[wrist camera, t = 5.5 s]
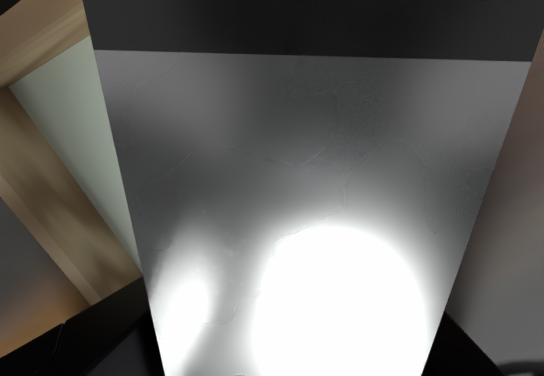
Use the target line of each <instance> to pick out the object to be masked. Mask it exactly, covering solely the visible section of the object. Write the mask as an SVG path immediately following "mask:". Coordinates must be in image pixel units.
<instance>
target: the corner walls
mask: <svg viewBox="0 0 544 376" xmlns="http://www.w3.org/2000/svg"><path fill="white" fill-rule="evenodd" d="M88 36H90V32H89V28H88V23H87V19H86V14H85V10H84V5H83V1H82V0H21V1H20V2H18V3H17V4H16V5H14V6H13V7H12V8H10V9H9V10H8V11H6V12H5V13H4V14H3V15H1V16H0V197H1V198H2V199H3V200H4V201H5V203H6V204H7V205H8V206H9V207H10V209H11V210H12V211H13V212H14V213H15V215H16V216H17V217H18V218H19V219H20V221H21V222H22V223H23V224H24V225H25V227H26V228H27V229H28V230H29V231H30V233H31V234H32V235H33V236H34V237H35V239H36V240H37V241H38V242H39V243H40V245H41V246H42V247H43V248H44V249H45V251H46V252H47V253H48V254H49V255H50V257H51V258H52V259H53V260H54V261H55V263H56V264H57V265H58V266H59V267H60V269H61V270H62V271H63V272H64V273H65V275H66V276H67V277H68V278H69V279H70V281H71V282H72V283H73V284H74V285H75V287H76V288H77V289H78V290H79V291H80V293H81V294H82V295H83V296H84V297H85V299H86V300H87V301H88V302H89V304H90V305H91V306H92V305H93V304H95V303H97V302H99V301H100V300H102V299H104V298H105V297H107V296H109V295H110V294H112V293H114V292H115V291H117V290H119V289H121V288H122V287H124V286H126V285H127V284H129V283H131V282H132V281H134V280H136V279H138V278H139V277H140V276H141V275H142V272H141V271H140V270H139V268H138V267H137V265H136V264H135V263H134V261H133V260H132V258H131V257H130V256H129V254H128V253H127V251H126V250H125V249H124V247H123V246H122V244H121V243H120V242H119V240H118V239H117V237H116V236H115V235H114V233H113V232H112V231H111V229H110V228H109V226H108V225H107V224H106V222H105V221H104V219H103V218H102V217H101V215H100V214H99V212H98V211H97V210H96V208H95V207H94V205H93V204H92V203H91V201H90V200H89V199H88V197H87V196H86V194H85V193H84V192H83V190H82V189H81V187H80V186H79V185H78V183H77V182H76V180H75V179H74V178H73V176H72V175H71V173H70V172H69V171H68V169H67V168H66V167H65V165H64V164H63V162H62V161H61V160H60V158H59V157H58V155H57V154H56V153H55V151H54V150H53V148H52V147H51V146H50V144H49V143H48V141H47V140H46V139H45V137H44V136H43V135H42V133H41V132H40V130H39V129H38V128H37V126H36V125H35V123H34V122H33V121H32V119H31V118H30V116H29V115H28V114H27V112H26V111H25V109H24V108H23V107H22V105H21V104H20V102H19V101H18V100H17V98H16V97H15V96H14V94H13V93H12V91H11V90H10V89H9V86H10V85H12V84H14V83H15V82H17V81H18V80H20V79H21V78H23V77H25V76H26V75H28V74H29V73H31V72H33V71H34V70H36V69H37V68H39V67H40V66H42V65H44V64H45V63H47V62H48V61H50V60H52V59H53V58H55V57H56V56H58V55H59V54H61V53H63V52H64V51H66V50H67V49H69V48H71V47H72V46H74V45H75V44H77V43H78V42H80V41H82V40H83V39H85V38H86V37H88Z"/></svg>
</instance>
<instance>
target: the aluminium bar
mask: <svg viewBox="0 0 544 376" xmlns="http://www.w3.org/2000/svg"><path fill="white" fill-rule="evenodd" d="M82 1H83V5H84V10H85V14H86V19H87V23H88V28H89V32H90V37H91V41H92V46H93V50H94V55H95V60H96V64H97V69H98V73H99V78H100V82H101V87H102V91H103V96H104V100H105V105H106V109H107V114H108V119H109V123H110V128H111V132H112V137H113V141H114V146H115V150H116V155H117V159H118V164H119V169H120V173H121V178H122V182H123V187H124V191H125V196H126V200H127V205H128V209H129V214H130V218H131V223H132V228H133V232H134V237H135V241H136V246H137V250H138V255H139V259H140V264H141V268H142V273H143V277H144V282H145V287H146V291H147V296H148V300H149V305H150V309H151V314H152V318H153V323H154V327H155V332H156V336H157V341H158V346H159V350H160V355H161V359H162V364H163V368H164V373H165V376H421V375H422V372H423V369H424V366H425V363H426V360H427V358H428V355H429V352H430V349H431V346H432V343H433V341H434V338H435V335H436V332H437V329H438V326H439V323H440V321H441V318H442V315H443V312H444V309H445V306H446V304H447V301H448V298H449V295H450V292H451V289H452V287H453V284H454V281H455V278H456V275H457V272H458V270H459V267H460V264H461V261H462V258H463V255H464V252H465V250H466V247H467V244H468V241H469V238H470V235H471V233H472V230H473V227H474V224H475V221H476V218H477V216H478V213H479V210H480V207H481V204H482V201H483V199H484V196H485V193H486V190H487V187H488V184H489V181H490V179H491V176H492V173H493V170H494V167H495V164H496V162H497V159H498V156H499V153H500V150H501V147H502V145H503V142H504V139H505V136H506V133H507V130H508V127H509V125H510V122H511V119H512V116H513V113H514V110H515V108H516V105H517V102H518V99H519V96H520V93H521V91H522V88H523V85H524V82H525V79H526V76H527V74H528V71H529V68H530V65H531V62H532V59H533V56H534V54H535V51H536V48H537V45H538V42H539V39H540V37H541V34H542V31H543V28H544V0H82Z"/></svg>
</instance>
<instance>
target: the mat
mask: <svg viewBox="0 0 544 376" xmlns="http://www.w3.org/2000/svg"><path fill="white" fill-rule="evenodd" d="M9 89H10V90H11V91H12V93H13V94H14V96H15V97H16V98H17V100H18V101H19V102H20V104H21V105H22V107H23V108H24V109H25V111H26V112H27V114H28V115H29V116H30V118H31V119H32V121H33V122H34V123H35V125H36V126H37V128H38V129H39V130H40V132H41V133H42V135H43V136H44V137H45V139H46V140H47V141H48V143H49V144H50V146H51V147H52V148H53V150H54V151H55V153H56V154H57V155H58V157H59V158H60V160H61V161H62V162H63V164H64V165H65V167H66V168H67V169H68V171H69V172H70V173H71V175H72V176H73V178H74V179H75V180H76V182H77V183H78V185H79V186H80V187H81V189H82V190H83V192H84V193H85V194H86V196H87V197H88V199H89V200H90V201H91V203H92V204H93V205H94V207H95V208H96V210H97V211H98V212H99V214H100V215H101V217H102V218H103V219H104V221H105V222H106V224H107V225H108V226H109V228H110V229H111V231H112V232H113V233H114V235H115V236H116V237H117V239H118V240H119V242H120V243H121V244H122V246H123V247H124V249H125V250H126V251H127V253H128V254H129V256H130V257H131V258H132V260H133V261H134V263H135V264H136V265H137V267H138V268H139V270H140V271H141V272H142V268H141V264H140V259H139V255H138V250H137V246H136V241H135V237H134V232H133V228H132V223H131V218H130V214H129V209H128V205H127V200H126V196H125V191H124V187H123V182H122V178H121V173H120V169H119V164H118V159H117V155H116V150H115V146H114V141H113V137H112V132H111V128H110V123H109V119H108V114H107V109H106V105H105V100H104V96H103V91H102V87H101V82H100V78H99V73H98V69H97V64H96V60H95V55H94V50H93V46H92V41H91V37H90V36H88V37H86V38H85V39H83V40H82V41H80V42H78V43H77V44H75V45H74V46H72V47H71V48H69V49H67V50H66V51H64V52H63V53H61V54H59V55H58V56H56V57H55V58H53V59H52V60H50V61H48V62H47V63H45V64H44V65H42V66H40V67H39V68H37V69H36V70H34V71H33V72H31V73H29V74H28V75H26V76H25V77H23V78H21V79H20V80H18V81H17V82H15V83H14V84H12V85H10V86H9ZM142 274H143V273H142Z"/></svg>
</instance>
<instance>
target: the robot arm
mask: <svg viewBox="0 0 544 376" xmlns="http://www.w3.org/2000/svg"><path fill="white" fill-rule="evenodd" d="M0 376H165V373H164V368H163V364H162V359H161V355H160V350H159V346H158V341H157V336H156V332H155V327H154V323H153V318H152V314H151V309H150V305H149V300H148V296H147V291H146V287H145V282H144V277H143V276H141V277H139V278H138V279H136V280H134V281H132V282H131V283H129V284H127V285H126V286H124V287H122V288H121V289H119V290H117V291H115V292H114V293H112V294H110V295H109V296H107V297H105V298H104V299H102V300H100V301H99V302H97V303H95V304H93V305H92V306H90V307H88V308H87V309H85V310H83V311H82V312H80V313H78V314H76V315H75V316H73V317H71V318H70V319H68V320H66V322H65V324H64V323H61V324H59V325H58V326H56V327H54V328H52V329H51V330H49V331H47V332H46V333H44V334H42V335H41V336H39V337H37V338H35V339H33V340H32V341H30V342H28V343H26V344H25V345H23V346H21V347H19V348H18V349H16V350H14V351H12V352H11V353H9V354H7V355H5V356H3V357H1V358H0ZM421 376H506V375H505V374H504V373H503V372H502V371H501V370H500V369H499V368H498V367H497V366H496V365H495V364H494V362H493V361H492V360H491V359H490V358H489V357H488V356H487V355H486V354H485V353H484V352H483V351H482V350H481V349H480V348H479V347H478V346H477V344H476V343H475V342H474V341H473V340H472V339H471V338H470V337H469V336H468V335H467V334H466V333H465V332H464V331H463V330H462V329H461V328H460V326H459V325H458V324H457V323H456V322H455V321H454V320H453V319H452V318H451V317H450V316H449V315H448V314H447V313H446V312H445V311H444V312H443V315H442V318H441V321H440V323H439V326H438V329H437V332H436V335H435V338H434V341H433V343H432V346H431V349H430V352H429V355H428V358H427V360H426V363H425V366H424V369H423V372H422V375H421Z"/></svg>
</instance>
